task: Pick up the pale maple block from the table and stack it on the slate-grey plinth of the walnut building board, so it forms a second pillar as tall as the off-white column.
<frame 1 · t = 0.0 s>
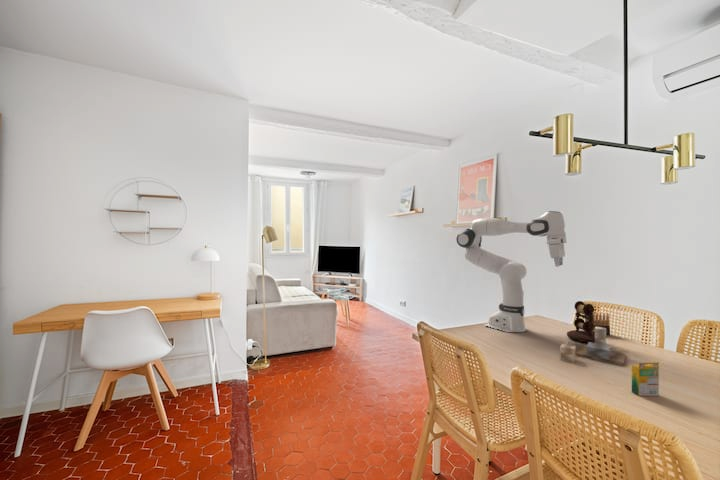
hand: (559, 265, 169), 39 cm above the table, tool pointing down, fingers open, 8 cm apart
ammunition clip: (598, 334, 176), on the table
dark brown rounded figure: (583, 340, 166), on the table
crayon box: (644, 394, 109), on the table
building board: (593, 354, 146), on the table
maple block: (567, 359, 139), on the table
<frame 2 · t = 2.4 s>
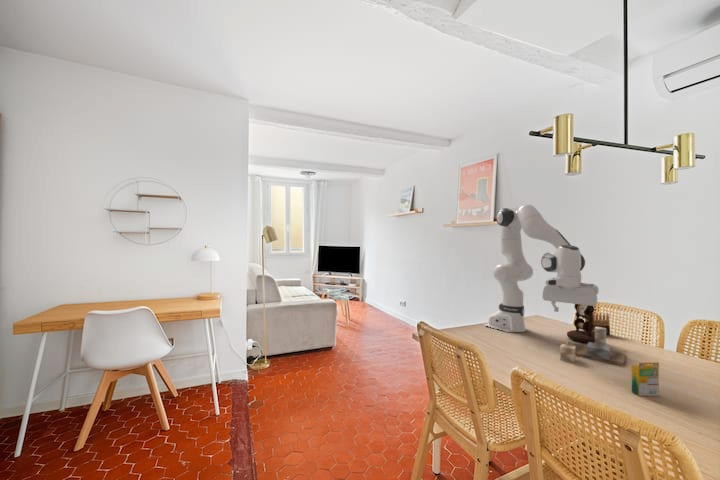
hand: (568, 313, 139), 21 cm above the table, tool pointing down, fingers open, 8 cm apart
nothing on the table moved.
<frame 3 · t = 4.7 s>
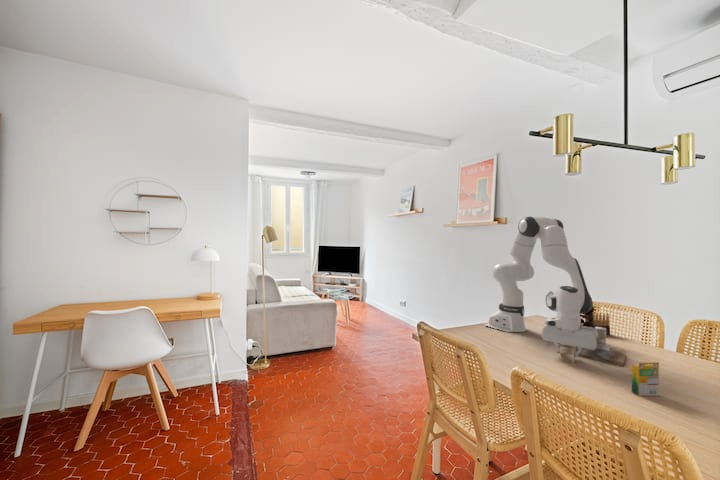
hand: (567, 354, 139), 2 cm above the table, tool pointing down, fingers closed on maple block, 5 cm apart
maple block: (567, 359, 139), on the table, touching gripper
everything else where it was.
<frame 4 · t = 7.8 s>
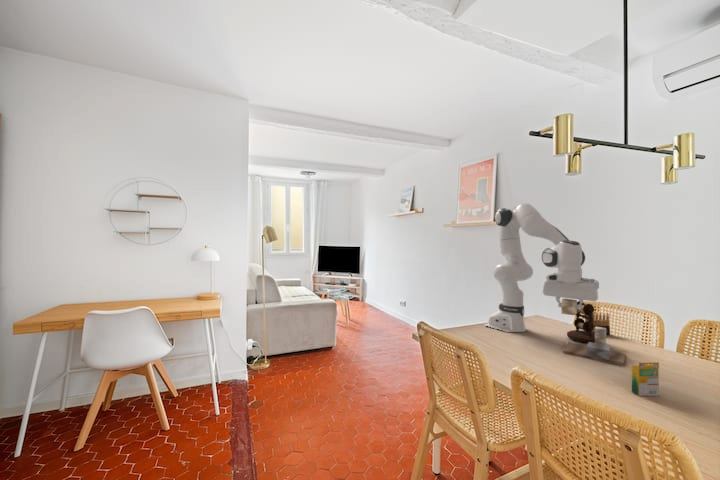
hand: (569, 308, 139), 23 cm above the table, tool pointing down, fingers closed on maple block, 5 cm apart
maple block: (569, 313, 139), point 21 cm above the table, touching gripper
everything else where it was.
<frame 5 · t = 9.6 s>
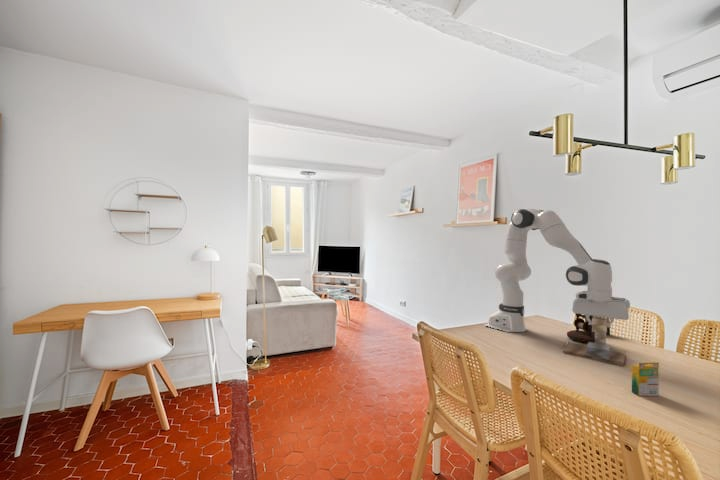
hand: (599, 326, 141), 14 cm above the table, tool pointing down, fingers closed on maple block, 5 cm apart
maple block: (599, 331, 141), point 12 cm above the table, touching gripper
everything else where it was.
when the fingers open (9 cm above the table, at t = 11.1 s): maple block drops 1 cm, resting on building board.
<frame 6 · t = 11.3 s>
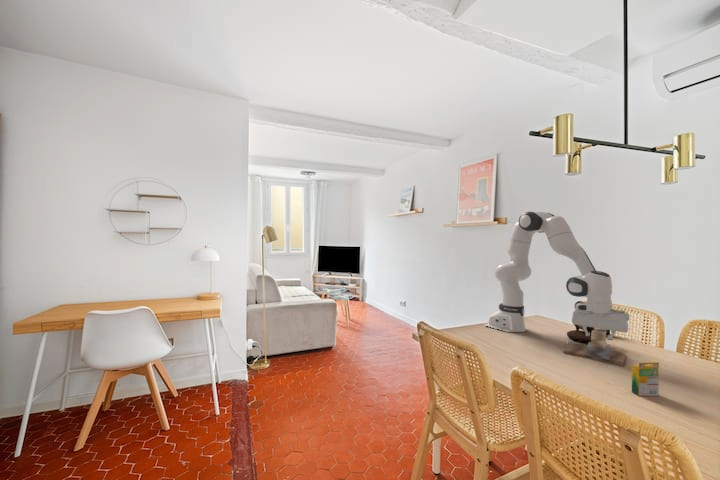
hand: (598, 337, 141), 9 cm above the table, tool pointing down, fingers open, 7 cm apart
maple block: (598, 346, 141), point 5 cm above the table, touching building board
everything else where it was.
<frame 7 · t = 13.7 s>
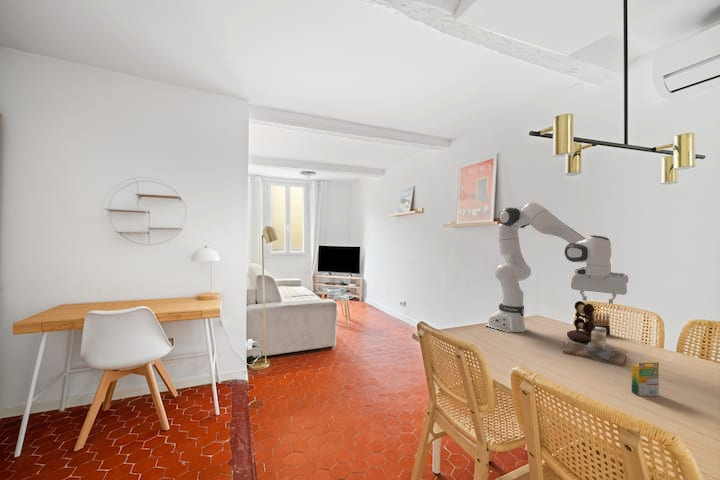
hand: (597, 301, 142), 25 cm above the table, tool pointing down, fingers open, 8 cm apart
nothing on the table moved.
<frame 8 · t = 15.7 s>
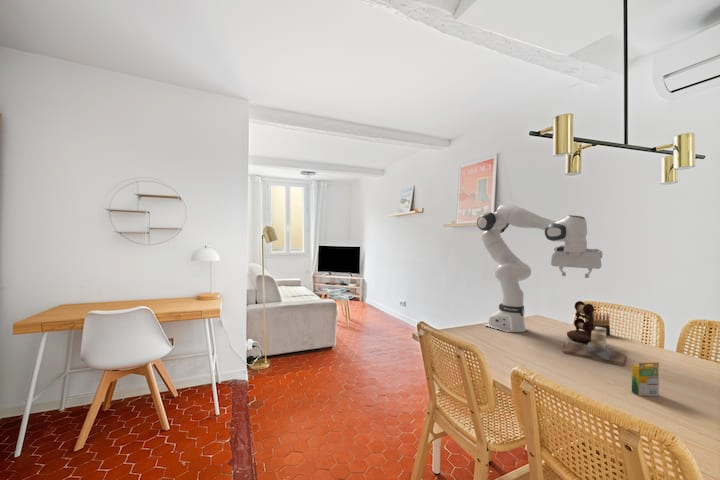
hand: (575, 276, 153), 35 cm above the table, tool pointing down, fingers open, 8 cm apart
nothing on the table moved.
at the end: maple block 0.1 cm from the target spot on the building board, point 5.2 cm above the building board's base; maple block tilted 0°; the gripper is holding nothing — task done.
